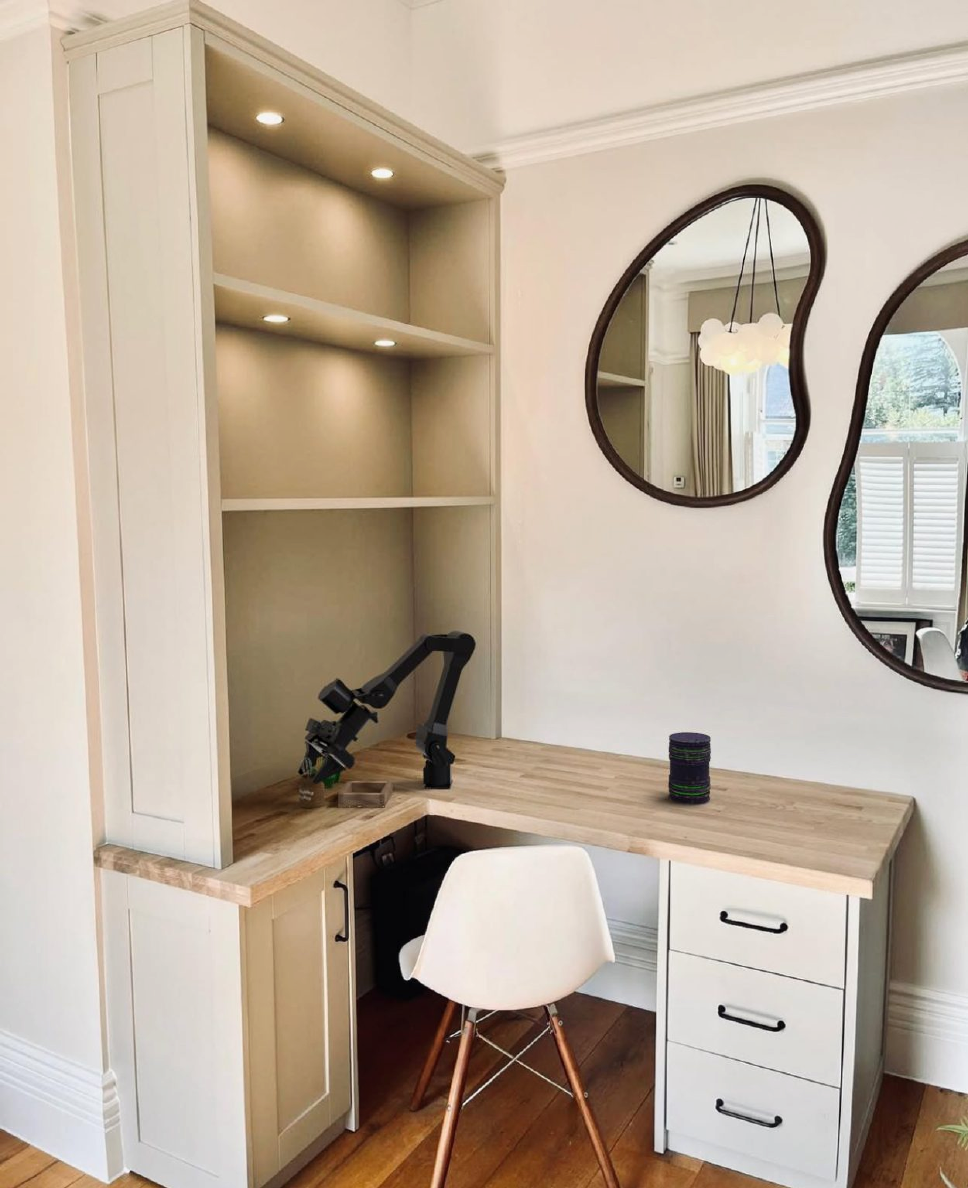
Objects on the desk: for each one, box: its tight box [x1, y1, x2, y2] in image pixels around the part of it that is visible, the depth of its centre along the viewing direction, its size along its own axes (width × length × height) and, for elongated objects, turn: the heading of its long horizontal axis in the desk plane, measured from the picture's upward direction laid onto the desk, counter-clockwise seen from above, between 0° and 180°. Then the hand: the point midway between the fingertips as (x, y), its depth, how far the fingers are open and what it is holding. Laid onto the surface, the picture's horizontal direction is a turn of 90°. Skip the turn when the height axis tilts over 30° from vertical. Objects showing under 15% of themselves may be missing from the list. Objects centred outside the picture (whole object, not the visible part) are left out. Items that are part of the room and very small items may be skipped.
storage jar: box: [667, 731, 712, 806], centre depth 237 cm, size 10×10×15 cm
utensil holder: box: [298, 757, 326, 809], centre depth 236 cm, size 6×6×12 cm
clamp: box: [307, 759, 342, 789], centre depth 254 cm, size 12×6×9 cm, turn 164°
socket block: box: [337, 780, 393, 808], centre depth 240 cm, size 11×11×4 cm
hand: (306, 778), depth 235 cm, fingers open, 9 cm apart
